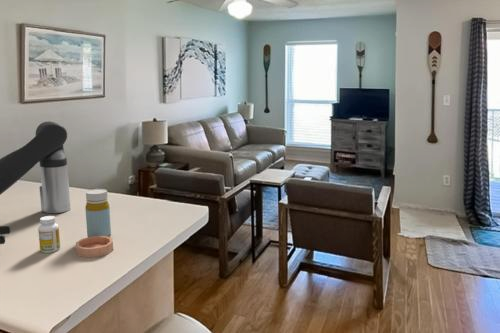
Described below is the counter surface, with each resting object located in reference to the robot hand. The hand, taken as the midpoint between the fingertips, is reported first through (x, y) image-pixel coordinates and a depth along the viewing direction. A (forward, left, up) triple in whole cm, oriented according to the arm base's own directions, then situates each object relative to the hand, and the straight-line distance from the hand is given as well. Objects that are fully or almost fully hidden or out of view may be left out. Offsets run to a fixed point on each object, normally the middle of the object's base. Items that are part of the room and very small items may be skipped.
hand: (7, 234), depth 122 cm
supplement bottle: (+9, +5, -6) cm, 12 cm away
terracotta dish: (+22, +7, -6) cm, 24 cm away
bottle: (+18, +17, -6) cm, 26 cm away
